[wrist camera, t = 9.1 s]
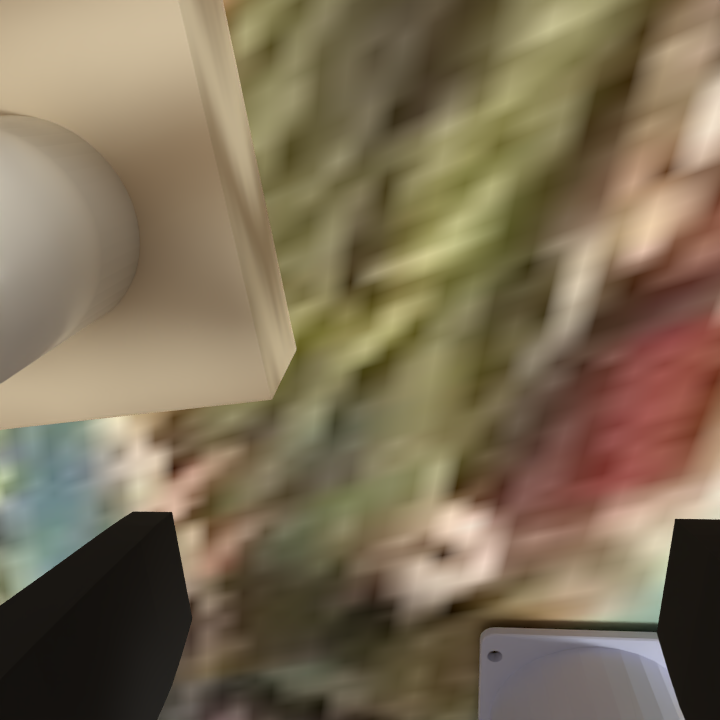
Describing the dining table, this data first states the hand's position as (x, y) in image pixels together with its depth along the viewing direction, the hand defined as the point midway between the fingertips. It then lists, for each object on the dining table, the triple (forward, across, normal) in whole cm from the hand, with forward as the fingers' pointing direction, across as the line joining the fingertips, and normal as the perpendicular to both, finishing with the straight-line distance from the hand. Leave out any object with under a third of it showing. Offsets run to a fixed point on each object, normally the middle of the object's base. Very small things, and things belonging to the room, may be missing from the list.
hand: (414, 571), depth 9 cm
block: (+11, +9, -4) cm, 15 cm away
